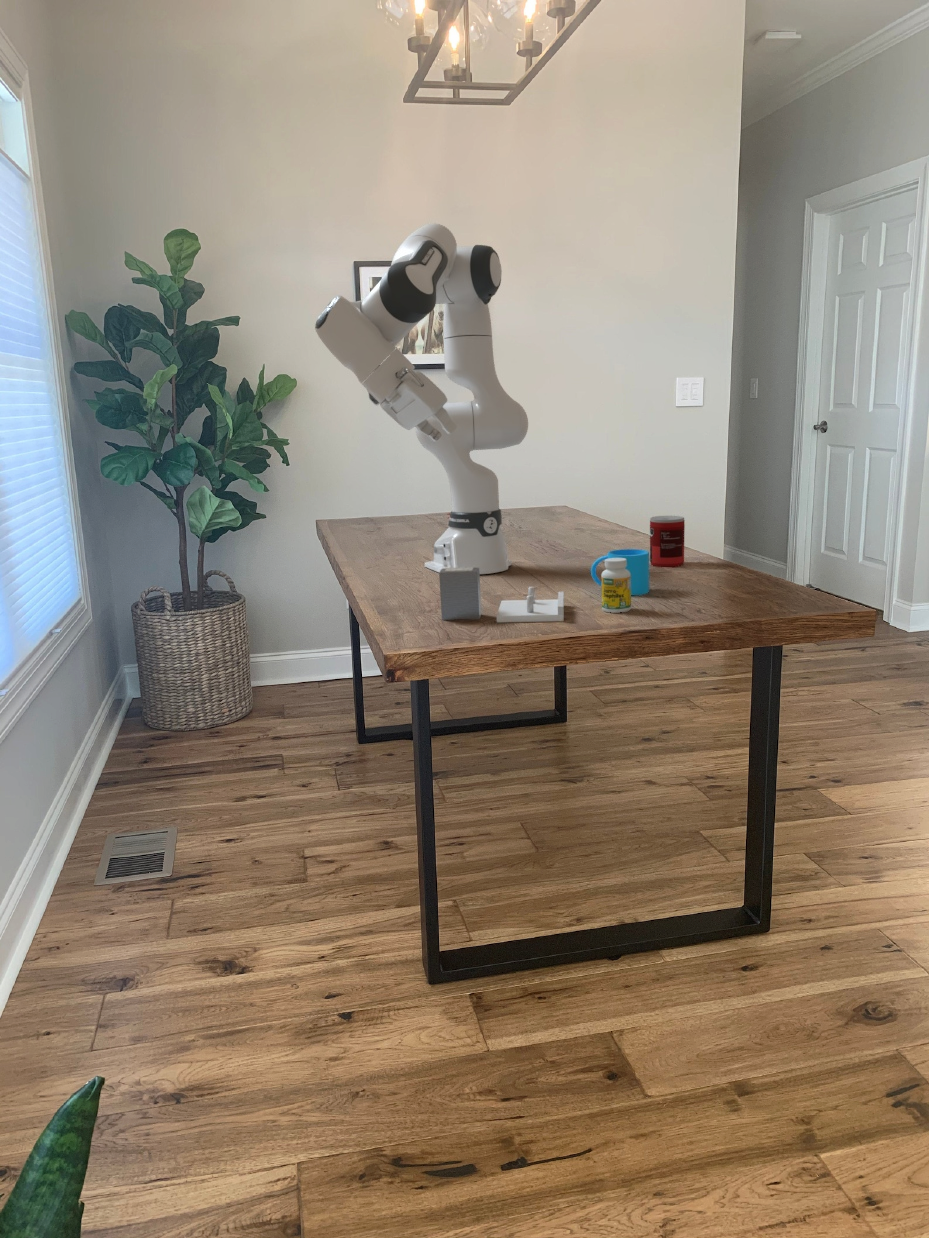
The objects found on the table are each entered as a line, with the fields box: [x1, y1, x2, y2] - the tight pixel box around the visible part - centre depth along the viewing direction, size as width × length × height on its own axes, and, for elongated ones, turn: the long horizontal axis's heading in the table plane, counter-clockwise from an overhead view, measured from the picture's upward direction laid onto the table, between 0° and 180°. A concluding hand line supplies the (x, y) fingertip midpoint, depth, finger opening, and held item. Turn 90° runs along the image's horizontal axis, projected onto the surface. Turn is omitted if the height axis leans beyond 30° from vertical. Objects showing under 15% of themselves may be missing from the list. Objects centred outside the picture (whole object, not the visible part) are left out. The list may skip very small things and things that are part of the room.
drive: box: [438, 567, 482, 621], centre depth 171 cm, size 7×4×9 cm, turn 84°
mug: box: [590, 548, 650, 596], centre depth 187 cm, size 12×8×8 cm
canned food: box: [649, 515, 686, 568], centre depth 213 cm, size 8×8×11 cm
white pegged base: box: [496, 586, 565, 623], centre depth 172 cm, size 12×13×4 cm
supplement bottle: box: [600, 558, 632, 614], centre depth 171 cm, size 5×5×10 cm
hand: (445, 435), depth 166 cm, fingers open, 8 cm apart
